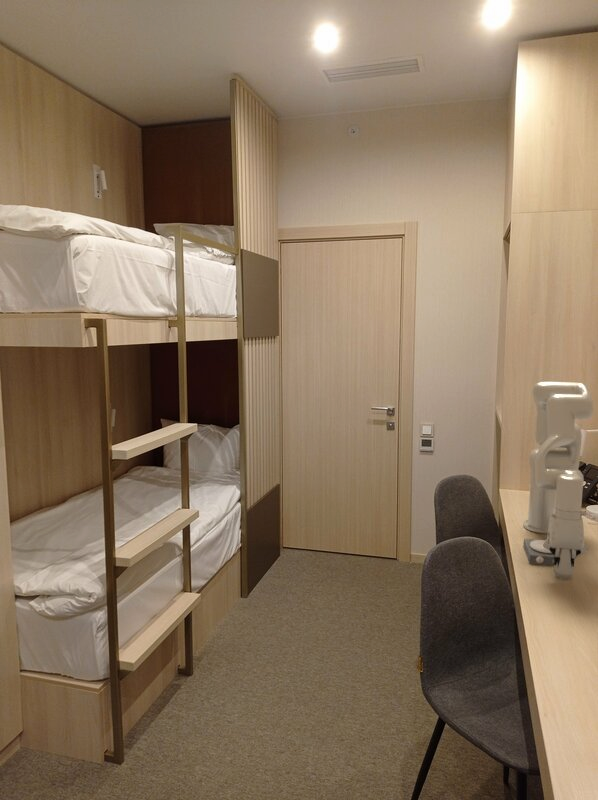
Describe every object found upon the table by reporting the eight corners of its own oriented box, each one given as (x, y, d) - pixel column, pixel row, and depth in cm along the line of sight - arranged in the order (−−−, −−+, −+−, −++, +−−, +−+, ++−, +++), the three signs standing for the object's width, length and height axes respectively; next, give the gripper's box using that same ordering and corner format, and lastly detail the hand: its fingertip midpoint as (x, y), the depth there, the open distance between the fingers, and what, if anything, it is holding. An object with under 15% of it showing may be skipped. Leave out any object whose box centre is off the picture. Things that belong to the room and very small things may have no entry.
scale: (523, 546, 210) (524, 536, 209) (559, 549, 207) (559, 539, 206) (529, 563, 196) (530, 553, 195) (567, 567, 193) (568, 556, 193)
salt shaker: (561, 582, 183) (564, 543, 181) (549, 574, 189) (551, 536, 186) (577, 579, 185) (579, 540, 183) (564, 571, 190) (567, 534, 188)
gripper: (592, 511, 185) (588, 565, 188) (537, 507, 189) (534, 560, 192) (598, 519, 178) (594, 575, 181) (541, 515, 181) (538, 570, 184)
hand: (563, 567), depth 186 cm, fingers closed on salt shaker, 3 cm apart
